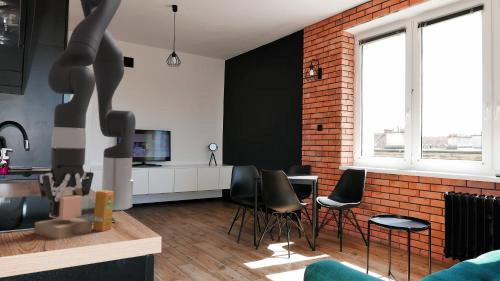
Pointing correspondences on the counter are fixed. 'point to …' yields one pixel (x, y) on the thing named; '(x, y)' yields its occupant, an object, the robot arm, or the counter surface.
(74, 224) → the tan flat block
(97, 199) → the supplement box
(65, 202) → the terracotta block
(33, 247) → the counter surface
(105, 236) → the counter surface
